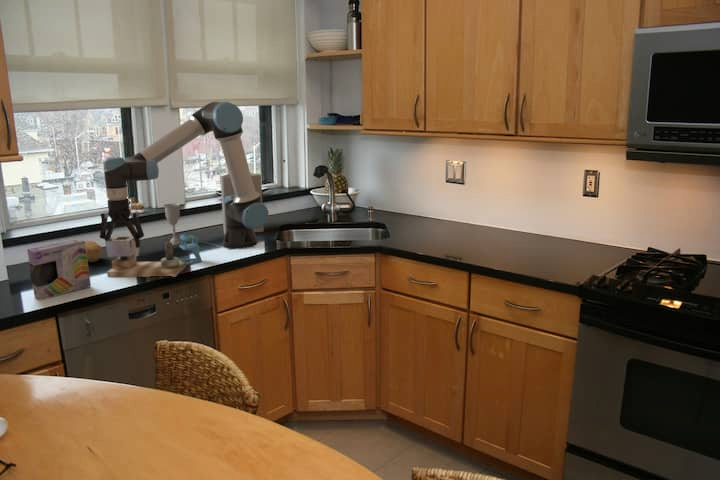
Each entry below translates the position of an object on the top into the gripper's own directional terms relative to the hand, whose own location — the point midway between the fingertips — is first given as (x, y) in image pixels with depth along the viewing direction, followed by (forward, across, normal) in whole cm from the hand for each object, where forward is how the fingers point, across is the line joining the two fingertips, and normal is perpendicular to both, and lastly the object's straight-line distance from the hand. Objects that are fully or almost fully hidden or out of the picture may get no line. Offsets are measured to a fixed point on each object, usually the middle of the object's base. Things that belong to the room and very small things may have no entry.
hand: (124, 255), depth 243 cm
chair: (+7, +22, +13) cm, 26 cm away
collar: (-1, 0, 0) cm, 1 cm away
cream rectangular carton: (+7, +30, +72) cm, 78 cm away
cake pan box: (+6, -12, -26) cm, 30 cm away
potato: (+7, -20, +14) cm, 25 cm away
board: (+6, +9, 0) cm, 11 cm away
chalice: (+7, +5, +45) cm, 46 cm away
